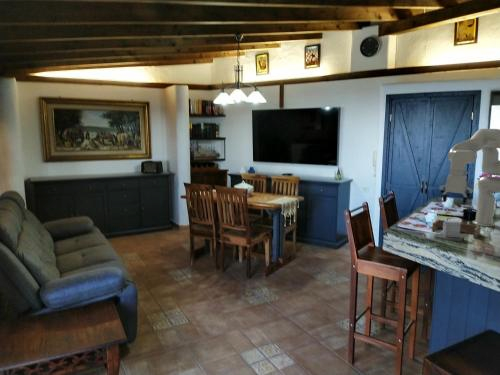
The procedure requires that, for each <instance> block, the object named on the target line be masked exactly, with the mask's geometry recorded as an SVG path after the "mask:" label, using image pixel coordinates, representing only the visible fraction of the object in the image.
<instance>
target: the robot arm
mask: <svg viewBox="0 0 500 375" xmlns="http://www.w3.org/2000/svg"><path fill="white" fill-rule="evenodd" d="M498 149H500V129H499V128H480V129H478V130H477V131H475V132H474V134H473V135H471V137H470V138H469V139H467V140H464V141H462V142H459V143H457V144H455V145H454V146H453V147H452V148H451V149H450V150H449V151H448V154H447V158H448V160H449V162H450V168H449V169H450V170H449V174H448V175H447V177H446V178H447V179H446V182H445V184H443V185H440V186H439V187H438V189H439V191H440V192H441V194H442V195H443V196H442V201H443V202H444V203H445V202H447V200H448V199H447V198H448V193H452V194H462V196H463V197H462V205H465V204H466V203H467V201H468V200H467V199H468V197H469V196H470V195H472V193H473V192H474V189H473V188H471V187H469V186H468V177H467V175H468V174H469V172H468V170H466V168H467V167H466V166H467V164H469V165H470V164H474V163H475V162H476V161H477V158H478V155H477V152H479V151H482V161H481V162H482V163H481V165H482V166H481V171H482V173H483V174H485V175H487V176H481V177H480V178H479V179H478V183H477V187H478V188H477V189H478V190H477V191H478V195H477V202H476V203H477V204H476V213H475V220H474V219H473V220H472V224H473V225H476V226H481V227H495V225H496V223H494V222H493V219H494V211H495V202H496V197H495V195H494V194H493V193H498V194H499V193H500V160H499V154H500V153H499V150H498ZM488 175H489V176H488ZM496 176H499V177H496ZM443 188H445V190H444V189H443ZM467 191H469V192H467Z"/></svg>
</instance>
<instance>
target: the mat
mask: <svg viewBox="0 0 500 375" xmlns="http://www.w3.org/2000/svg"><path fill="white" fill-rule="evenodd" d="M442 232H443V231H442ZM442 232H440V233H439V234H438V235H437V236H436V238H438V239H442V240H449V241H454V242H461V241H462V240H463V239H464V238H465V235H461V234H460V235H459V237H445V236H443V235H442Z"/></svg>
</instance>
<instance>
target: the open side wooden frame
mask: <svg viewBox="0 0 500 375" xmlns="http://www.w3.org/2000/svg"><path fill="white" fill-rule="evenodd" d="M444 221H445V220H442V219H437V220H434V222H432V226H431V227H432V228H431V232H435V231H436V230H438V229H442V228H443V222H444ZM460 223H461V226H460V233H466V234H467V233H468V234H473V236H472V237H473V239H477V237H478V236H479V233H480V225H476V224H469V223H463V222H460ZM437 228H438V229H437Z"/></svg>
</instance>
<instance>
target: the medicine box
mask: <svg viewBox="0 0 500 375" xmlns="http://www.w3.org/2000/svg"><path fill="white" fill-rule="evenodd" d="M443 221H444V222H443V229H442V235H443V236H445V237H459V235H460V236H461V234H460V233H461V232H460V226H461V223H462V222H460V221H457V220H443Z"/></svg>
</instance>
